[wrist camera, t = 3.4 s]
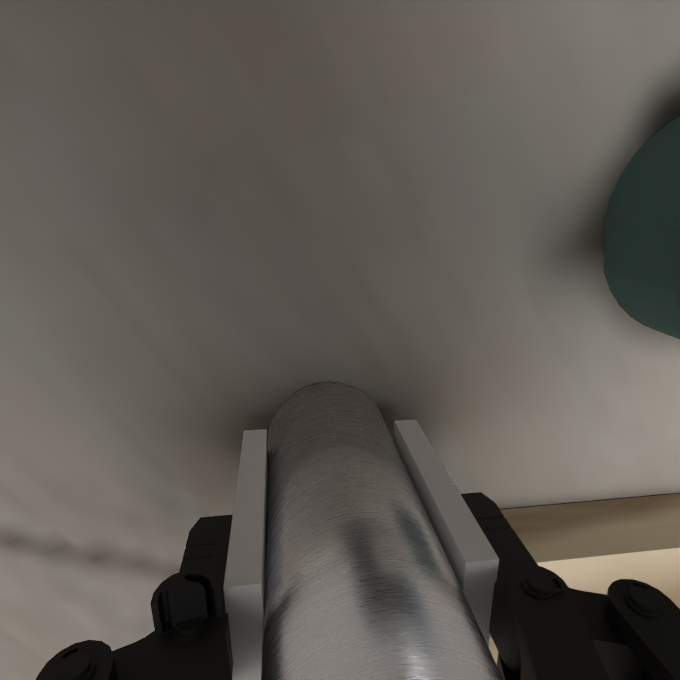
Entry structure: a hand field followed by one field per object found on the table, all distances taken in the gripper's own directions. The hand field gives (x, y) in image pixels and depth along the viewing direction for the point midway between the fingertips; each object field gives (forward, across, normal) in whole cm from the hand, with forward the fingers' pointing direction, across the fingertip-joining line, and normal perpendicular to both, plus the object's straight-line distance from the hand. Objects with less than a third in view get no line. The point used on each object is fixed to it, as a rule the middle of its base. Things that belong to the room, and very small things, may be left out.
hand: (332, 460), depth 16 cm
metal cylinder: (+2, 0, 0) cm, 2 cm away
